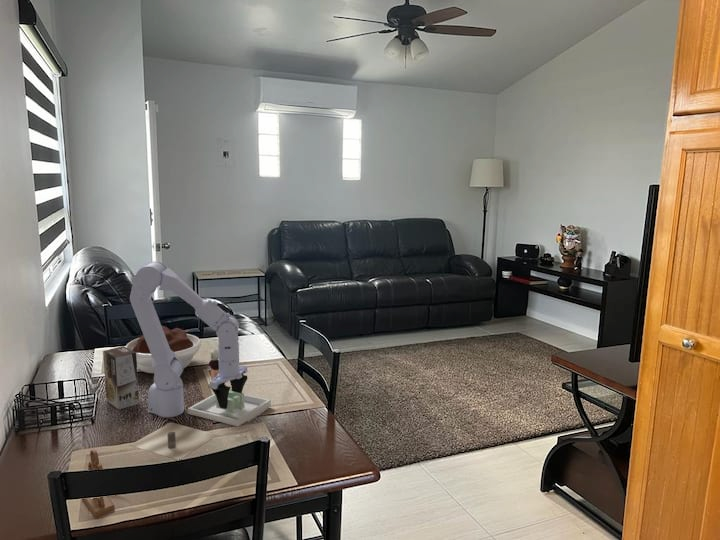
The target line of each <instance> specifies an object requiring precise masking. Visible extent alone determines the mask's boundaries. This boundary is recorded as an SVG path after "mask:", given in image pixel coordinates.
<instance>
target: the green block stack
mask: <svg viewBox="0 0 720 540" xmlns="http://www.w3.org/2000/svg"><path fill="white" fill-rule="evenodd" d="M244 394H245V393H243V392H242V393H239V392H234V391H232V390H231V389H230V390H229V394H228V404H227V408H226V409H224V410H228V411H234V410H235V409H240V410H242V409H243V408H245V404H244ZM216 408H220V406H219V403H218V400H217V397H216ZM220 409H223V408H220Z"/></svg>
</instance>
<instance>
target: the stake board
mask: <svg viewBox="0 0 720 540" xmlns="http://www.w3.org/2000/svg"><path fill="white" fill-rule="evenodd" d="M215 437H218V434H216V433H213V432H209V431H205V430H201V429H198V428H194V427H190V426H186V425H182V424H180V423H175V422H173V421H171V422H169V423H167V424H166V425H164V426H162V427H160V428H158V429H157V430H155V431H153V432H151V433H149V434H147V435H144V437H142V438H140V439H138V440H137V441H135V442H132V443H131V444H129V446H131V447H133V448H134V447H135V448H137V449H141V450H144V451H147V452H150V453H154V454H157V455H159V456H164V457H165V458H166V457H167V458H170V459H174V460H177V461H180V460H182V459H183V458H184V457H186V456H189V454H191V453H193V452H194V451H196V449H198V448H200V447H202V446H203V445H204V444H206V443H208V442H209V441H211V440H212V439H214V438H215ZM179 458H180V460H179Z"/></svg>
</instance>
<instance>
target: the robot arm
mask: <svg viewBox="0 0 720 540" xmlns="http://www.w3.org/2000/svg"><path fill="white" fill-rule="evenodd" d="M158 287H159V289H158V290H159V291H170V292H173V293H174V294H176V295H177V296H178V297H179V298H181V299H182V300H183V301H184V302H186V303H187V304H188V305H190V306H191V307H192V308H193V309H194V310H195V311H194V312H195V314H194V315H195V316H197V317H198V318H199V319H200V320H201V321H202V322H203V323H204V324H206V325H207V326H208V327H210V328H211V329H212V330H214V331H215V334H216V336H217V338H218V345H217V346H218V347H217V350H218V354H219V358H218V360H219V374H218V375H217V376H216V377H215V378H214V379H213V380H212V381H211V380H210V381H209V384H210V387H209V388H210V389H211V391H212V392H213V393H214V394H215V395H216V397H217V400H218V403H219V406H220V408H223V409H226V408H227V404H228V394H229V390H230V391H234V392H239V393H243V389H244V387H245V385H246V382H247V380H248V376H247V375H246V374H247V373H248V366H246V365H240V345H239V344H240V343H239V329H240V323H239V320H238V319H237V318H236V316H234V315H231V314H230V313H229V312H226V311H224V310H223V309H222V308H221V307H220V306H218V304H219V303H218V302H217V301H216V300H211V299H210V298H207V299H205V298H203V297H201V296H200V295H199V294H198V293H197V292H196V291H195V290H193V288H191V287H190V286H189V285H188V284H187V283H186V282H185V281H184V280H183V279H182V278H180V277H179V275H178V274H177V273H176V272H174V271H173V270H172V269H171V268H170V267H167V266H166V265H165V264H164V263H163V262H161V261H157V260H155V261H154V260H153V261H150V262H148V263H147V264H146V265H145V266H142V267H141V268H139V269H138V270H137V272H136V273H135V275H134V276H133V277H132V285H131V289H130V290H131V291H130V294H129V301H130V304H131V307H132V309H133V312H134V315H135V317H136V319H137V322H138V324H139V328H140V329H141V332H142V335H144V337H145V340H146V342H147V345H148V348H149V350H150V353H151V355H152V358H153V370H154V374H153V375H154V376H153V384H151V385H150V387H149V389H148V391H147V405H148V406H147V407H148V413H149V414H151V413H152V414H154V415H157V416H159V417H161V418H173V417H177V416H180V415H181V414H183V413H184V411H185V408H184V407H185V405H184V404H185V401H184V382H183V380H182V379H181V375H182V374H183V372H184V368H183V364H182V362H181V361H180V360H179V359H178V358H177V357H176V355H175V353H174V352H173V351H172V350H171V349H170V347H169V344H168V342H167V339H166V336H165V334H164V331H163V329H162V326H163V325H162V324H161V321H160V318H159V316H158V313H157V310H156V308H155V305H154V303H153V300H152V297H153V296H154V294H155V292H156V290H157V288H158ZM244 374H245V375H244ZM228 382H230V386H229V385H228V386H227V384H226V383H228Z"/></svg>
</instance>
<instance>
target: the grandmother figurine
mask: <svg viewBox="0 0 720 540" xmlns="http://www.w3.org/2000/svg"><path fill="white" fill-rule="evenodd" d="M209 354H210V359H211V360H209V362H208V364H207V370H210V374H211V375H210V381H212V380H213V379H214V378H215V377H216V376H217V375H218V374H219V354H218V349H211V350H210V351H209ZM207 387H208V388H210V383H209V384H208V385H207Z"/></svg>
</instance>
